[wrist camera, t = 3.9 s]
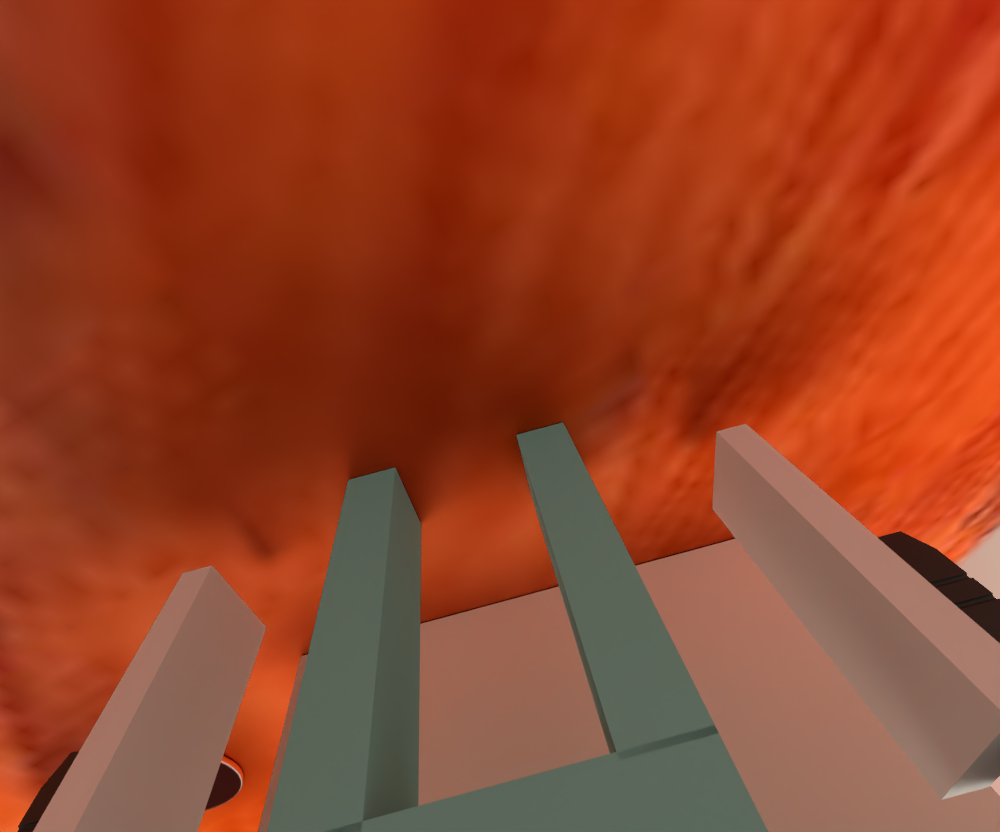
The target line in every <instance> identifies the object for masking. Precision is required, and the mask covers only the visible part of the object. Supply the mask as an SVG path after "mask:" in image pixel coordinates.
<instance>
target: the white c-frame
mask: <svg viewBox="0 0 1000 832" xmlns="http://www.w3.org/2000/svg"><path fill="white" fill-rule="evenodd" d="M635 567H636V569H637V571H638V573H639V575H640V577H641V579H642V581H643V583H644V585H645V587H646V589H647V591H648V593H649V595H650V597H651V599H652V601H653V603H654V605H655V607H656V609H657V611H658V613H659V615H660V617H661V619H662V621H663V623H664V625H665V627H666V629H667V631H668V632H669V634H670V636H671V638H672V640H673V642H674V644H675V646H676V648H677V650H678V652H679V654H680V656H681V658H682V660H683V662H684V664H685V666H686V668H687V670H688V672H689V674H690V676H691V678H692V680H693V682H694V684H695V686H696V688H697V690H698V692H699V694H700V696H701V698H702V700H703V702H704V704H705V706H706V708H707V710H708V712H709V714H710V716H711V718H712V720H713V722H714V724H715V726H716V728H717V730H718V732H719V734H720V736H721V738H722V740H723V742H724V744H725V746H726V748H727V750H728V752H729V754H730V756H731V758H732V760H733V762H734V764H735V766H736V768H737V770H738V772H739V774H740V776H741V778H742V780H743V782H744V784H745V786H746V788H747V790H748V792H749V794H750V796H751V798H752V800H753V802H754V804H755V806H756V808H757V810H758V812H759V814H760V816H761V818H762V820H763V822H764V824H765V826H766V828H767V830H768V832H1000V796H999V795H998V794H997V793H996V792H995V791H994V789H993V788H992V787H991V786H989V787H987V788H983V789H980V790H976V791H972V792H968V793H965V794H961V795H957V796H953V797H950V798H946V799H942V800H941V799H940V797H939V796H938V795H937V793H936V792H935V791H934V790H933V788H932V787H931V786H930V785H929V783H928V782H927V781H926V780H925V778H924V777H923V776H922V774H921V773H920V772H919V771H918V769H917V768H916V767H915V766H914V764H913V763H912V762H911V760H910V759H909V758H908V757H907V755H906V754H905V753H904V752H903V750H902V749H901V748H900V747H899V745H898V744H897V743H896V741H895V740H894V739H893V738H892V736H891V735H890V734H889V733H888V731H887V730H886V729H885V727H884V726H883V725H882V724H881V722H880V721H879V720H878V719H877V717H876V716H875V715H874V714H873V712H872V711H871V710H870V708H869V707H868V706H867V705H866V703H865V702H864V701H863V700H862V698H861V697H860V696H859V694H858V693H857V692H856V691H855V689H854V688H853V687H852V686H851V684H850V683H849V682H848V681H847V679H846V678H845V677H844V675H843V674H842V673H841V672H840V670H839V669H838V668H837V667H836V665H835V664H834V663H833V661H832V660H831V659H830V658H829V656H828V655H827V654H826V653H825V651H824V650H823V649H822V648H821V646H820V645H819V644H818V642H817V641H816V640H815V639H814V637H813V636H812V635H811V634H810V632H809V631H808V630H807V628H806V627H805V626H804V625H803V623H802V622H801V621H800V620H799V618H798V617H797V616H796V615H795V613H794V612H793V611H792V609H791V608H790V607H789V606H788V604H787V603H786V602H785V601H784V599H783V598H782V597H781V595H780V594H779V593H778V592H777V590H776V589H775V588H774V587H773V585H772V584H771V583H770V582H769V580H768V579H767V578H766V576H765V575H764V574H763V573H762V571H761V570H760V569H759V568H758V566H757V565H756V564H755V562H754V561H753V560H752V559H751V557H750V556H749V555H748V554H747V552H746V551H745V550H744V549H743V547H742V546H741V545H740V543H739V542H738V541H737V540H736V539H732V540H728V541H725V542H721V543H717V544H714V545H710V546H706V547H703V548H699V549H695V550H691V551H688V552H684V553H680V554H677V555H673V556H669V557H666V558H662V559H658V560H655V561H651V562H647V563H643V564H640V565H636V566H635ZM307 656H308V654H307V655H303V656H301V657H300V661H299V666H298V670H297V674H296V678H295V682H294V686H293V690H292V694H291V698H290V702H289V706H288V711H287V715H286V719H285V723H284V727H283V731H282V735H281V739H280V743H279V747H278V751H277V756H276V760H275V764H274V768H273V772H272V776H271V780H270V784H269V788H268V792H267V796H266V801H265V805H264V809H263V813H262V817H261V821H260V825H259V829H258V832H267V829H268V825H269V821H270V816H271V812H272V808H273V803H274V799H275V795H276V790H277V786H278V782H279V777H280V773H281V769H282V764H283V760H284V756H285V751H286V747H287V743H288V738H289V734H290V730H291V725H292V721H293V717H294V712H295V708H296V704H297V700H298V695H299V691H300V687H301V682H302V678H303V674H304V669H305V665H306V661H307ZM607 754H610V753H609V749H608V746H607V743H606V739H605V736H604V733H603V730H602V726H601V723H600V720H599V716H598V713H597V710H596V707H595V703H594V700H593V697H592V693H591V690H590V687H589V684H588V680H587V677H586V674H585V670H584V667H583V664H582V661H581V657H580V654H579V651H578V647H577V644H576V641H575V638H574V634H573V631H572V628H571V624H570V621H569V618H568V615H567V611H566V608H565V605H564V601H563V598H562V595H561V592H560V588H559V586H558V587H555V588H551V589H547V590H544V591H540V592H536V593H533V594H529V595H525V596H521V597H518V598H514V599H510V600H507V601H503V602H499V603H496V604H492V605H488V606H485V607H481V608H477V609H473V610H470V611H466V612H462V613H459V614H455V615H451V616H448V617H444V618H440V619H436V620H433V621H429V622H425V623H422V624H420V701H419V797H418V806H420V805H424V804H427V803H431V802H435V801H438V800H442V799H446V798H449V797H453V796H457V795H460V794H464V793H468V792H471V791H475V790H479V789H482V788H486V787H490V786H493V785H497V784H501V783H504V782H508V781H512V780H515V779H519V778H523V777H526V776H530V775H533V774H537V773H541V772H544V771H548V770H552V769H555V768H559V767H563V766H566V765H570V764H574V763H577V762H581V761H585V760H588V759H592V758H596V757H599V756H603V755H607Z"/></svg>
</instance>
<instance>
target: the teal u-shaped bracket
mask: <svg viewBox="0 0 1000 832" xmlns="http://www.w3.org/2000/svg"><path fill="white" fill-rule="evenodd" d="M516 436H517V440H518V444H519V448H520V452H521V456H522V460H523V464H524V468H525V472H526V476H527V480H528V484H529V488H530V492H531V496H532V500H533V503H534V506H535V509H536V513H537V516H538V519H539V523H540V526H541V529H542V532H543V536H544V539H545V542H546V546H547V549H548V552H549V555H550V559H551V562H552V565H553V569H554V572H555V575H556V578H557V582H558V585H559V588H560V592H561V595H562V598H563V601H564V605H565V608H566V611H567V615H568V618H569V621H570V624H571V628H572V631H573V634H574V638H575V641H576V644H577V647H578V651H579V654H580V657H581V661H582V664H583V667H584V670H585V674H586V677H587V680H588V684H589V687H590V690H591V693H592V697H593V700H594V703H595V707H596V710H597V713H598V716H599V720H600V723H601V726H602V730H603V733H604V736H605V739H606V743H607V746H608V749H609V753H610V754H607V755H603V756H599V757H596V758H592V759H588V760H585V761H581V762H577V763H574V764H570V765H566V766H563V767H559V768H555V769H552V770H548V771H544V772H541V773H537V774H533V775H530V776H526V777H523V778H519V779H515V780H512V781H508V782H504V783H501V784H497V785H493V786H490V787H486V788H482V789H479V790H475V791H471V792H468V793H464V794H460V795H457V796H453V797H449V798H446V799H442V800H438V801H435V802H431V803H427V804H424V805H420V806H418V797H419V701H420V604H421V523H420V521H419V518H418V516H417V514H416V512H415V509H414V507H413V505H412V503H411V501H410V498H409V496H408V494H407V492H406V490H405V487H404V485H403V483H402V481H401V479H400V476H399V474H398V472H397V470H396V468H395V467H394V468H391V469H387V470H383V471H380V472H376V473H372V474H368V475H365V476H361V477H357V478H353V479H350V480H348V483H347V488H346V492H345V496H344V501H343V505H342V509H341V514H340V518H339V522H338V526H337V531H336V535H335V539H334V544H333V548H332V552H331V557H330V561H329V565H328V570H327V574H326V578H325V583H324V587H323V591H322V596H321V600H320V604H319V609H318V613H317V617H316V622H315V626H314V630H313V635H312V639H311V643H310V648H309V652H308V656H307V661H306V665H305V669H304V674H303V678H302V682H301V687H300V691H299V695H298V700H297V704H296V708H295V712H294V717H293V721H292V725H291V730H290V734H289V738H288V743H287V747H286V751H285V756H284V760H283V764H282V769H281V773H280V777H279V782H278V786H277V790H276V795H275V799H274V803H273V808H272V812H271V816H270V821H269V825H268V829H267V832H768V830H767V828H766V826H765V824H764V822H763V820H762V818H761V816H760V814H759V812H758V810H757V808H756V806H755V804H754V802H753V800H752V798H751V796H750V794H749V792H748V790H747V788H746V786H745V784H744V782H743V780H742V778H741V776H740V774H739V772H738V770H737V768H736V766H735V764H734V762H733V760H732V758H731V756H730V754H729V752H728V750H727V748H726V746H725V744H724V742H723V740H722V738H721V736H720V734H719V732H718V730H717V728H716V726H715V724H714V722H713V720H712V718H711V716H710V714H709V712H708V710H707V708H706V706H705V704H704V702H703V700H702V698H701V696H700V694H699V692H698V690H697V688H696V686H695V684H694V682H693V680H692V678H691V676H690V674H689V672H688V670H687V668H686V666H685V664H684V662H683V660H682V658H681V656H680V654H679V652H678V650H677V648H676V646H675V644H674V642H673V640H672V638H671V636H670V634H669V632H668V631H667V629H666V627H665V625H664V623H663V621H662V619H661V617H660V615H659V613H658V611H657V609H656V607H655V605H654V603H653V601H652V599H651V597H650V595H649V593H648V591H647V589H646V587H645V585H644V583H643V581H642V579H641V577H640V575H639V573H638V571H637V569H636V567H635V565H634V563H633V561H632V559H631V557H630V555H629V553H628V551H627V549H626V547H625V545H624V543H623V541H622V539H621V537H620V535H619V533H618V531H617V529H616V527H615V525H614V523H613V521H612V519H611V517H610V515H609V513H608V511H607V509H606V507H605V505H604V503H603V501H602V499H601V497H600V495H599V493H598V491H597V489H596V487H595V485H594V483H593V481H592V479H591V477H590V475H589V473H588V471H587V469H586V467H585V465H584V463H583V461H582V459H581V457H580V455H579V453H578V451H577V449H576V447H575V445H574V443H573V441H572V439H571V437H570V435H569V433H568V431H567V429H566V427H565V425H564V423H563V422H562V423H558V424H555V425H551V426H547V427H543V428H540V429H536V430H532V431H529V432H525V433H521V434H517V435H516Z"/></svg>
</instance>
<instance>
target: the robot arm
mask: <svg viewBox="0 0 1000 832" xmlns="http://www.w3.org/2000/svg"><path fill="white" fill-rule="evenodd" d="M712 509H713V510H714V512H715V513H716V514H717V516H718V517H719V518H720V519H721V521H722V522H723V523H724V524H725V526H726V527H727V528H728V529H729V531H730V532H731V533H732V535H733V536H734V537H735V538H736V540H737V541H738V542H739V543H740V545H741V546H742V547H743V549H744V550H745V551H746V552H747V554H748V555H749V556H750V557H751V559H752V560H753V561H754V562H755V564H756V565H757V566H758V568H759V569H760V570H761V571H762V573H763V574H764V575H765V576H766V578H767V579H768V580H769V582H770V583H771V584H772V585H773V587H774V588H775V589H776V590H777V592H778V593H779V594H780V595H781V597H782V598H783V599H784V601H785V602H786V603H787V604H788V606H789V607H790V608H791V609H792V611H793V612H794V613H795V615H796V616H797V617H798V618H799V620H800V621H801V622H802V623H803V625H804V626H805V627H806V628H807V630H808V631H809V632H810V634H811V635H812V636H813V637H814V639H815V640H816V641H817V642H818V644H819V645H820V646H821V648H822V649H823V650H824V651H825V653H826V654H827V655H828V656H829V658H830V659H831V660H832V661H833V663H834V664H835V665H836V667H837V668H838V669H839V670H840V672H841V673H842V674H843V675H844V677H845V678H846V679H847V681H848V682H849V683H850V684H851V686H852V687H853V688H854V689H855V691H856V692H857V693H858V694H859V696H860V697H861V698H862V700H863V701H864V702H865V703H866V705H867V706H868V707H869V708H870V710H871V711H872V712H873V714H874V715H875V716H876V717H877V719H878V720H879V721H880V722H881V724H882V725H883V726H884V727H885V729H886V730H887V731H888V733H889V734H890V735H891V736H892V738H893V739H894V740H895V741H896V743H897V744H898V745H899V747H900V748H901V749H902V750H903V752H904V753H905V754H906V755H907V757H908V758H909V759H910V760H911V762H912V763H913V764H914V766H915V767H916V768H917V769H918V771H919V772H920V773H921V774H922V776H923V777H924V778H925V780H926V781H927V782H928V783H929V785H930V786H931V787H932V788H933V790H934V791H935V792H936V793H937V795H938V796H939V797H940V799H941V800H942V799H946V798H950V797H953V796H957V795H961V794H965V793H968V792H972V791H976V790H980V789H983V788H987V787H989V786H990V785H991V784H992V783H993V782H994V781H995V780H996V779H997V778H998V777H999V776H1000V599H996V598H994V597H993V595H992V593H991V592H990V591H989V590H988V589H986V588H985V587H984V586H983V585H981V584H980V583H979V582H978V581H976V580H975V579H974V578H969V577H968V576H967V573H966V572H965V571H964V570H962V569H961V568H960V567H958V566H957V565H956V564H955V563H953V562H952V561H951V560H950V559H948V558H947V557H946V556H945V555H943V554H942V553H941V552H939V551H938V550H937V549H935V548H933V547H931V546H929V545H927V544H925V543H923V542H921V541H919V540H917V539H915V538H913V537H911V536H909V535H907V534H905V533H903V532H901V531H900V532H896V533H892V534H889V535H885V536H881V537H876V536H875V535H874V534H873V533H872V532H870V531H869V530H868V529H867V528H866V527H865V526H864V525H862V524H861V523H860V522H859V521H858V520H857V519H855V518H854V517H853V516H852V515H851V514H850V513H849V512H847V511H846V510H845V509H844V508H843V507H842V506H840V505H839V504H838V503H837V502H836V501H835V500H833V499H832V498H831V497H830V496H829V495H828V494H827V493H825V492H824V491H823V490H822V489H821V488H820V487H818V486H817V485H816V484H815V483H814V482H813V481H812V480H810V479H809V478H808V477H807V476H806V475H805V474H803V473H802V472H801V471H800V470H799V469H798V468H797V467H795V466H794V465H793V464H792V463H791V462H790V461H788V460H787V459H786V458H785V457H784V456H783V455H782V454H780V453H779V452H778V451H777V450H776V449H775V448H773V447H772V446H771V445H770V444H769V443H768V442H767V441H765V440H764V439H763V438H762V437H761V436H760V435H758V434H757V433H756V432H755V431H754V430H753V429H752V428H750V427H749V426H748V425H747V424H743V425H739V426H735V427H731V428H727V429H724V430H720V431H716V450H715V469H714V488H713V506H712ZM266 628H267V627H266V626H265V625H264V624H263V623H262V621H261V620H260V619H259V618H258V617H257V616H256V615H255V613H254V612H253V611H252V610H251V609H250V608H249V607H248V605H247V604H246V603H245V602H244V601H243V600H242V599H241V597H240V596H239V595H238V594H237V593H236V592H235V591H234V589H233V588H232V587H231V586H230V585H229V584H228V583H227V581H226V580H225V579H224V578H223V577H222V576H221V575H220V573H219V572H218V571H217V570H216V569H215V568H214V567H213V565H211V566H207V567H203V568H200V569H196V570H192V571H188V572H185V573H182V575H181V577H180V579H179V580H178V582H177V584H176V586H175V587H174V589H173V591H172V592H171V594H170V596H169V598H168V599H167V601H166V603H165V604H164V606H163V608H162V610H161V611H160V613H159V615H158V617H157V618H156V620H155V622H154V623H153V625H152V627H151V629H150V630H149V632H148V634H147V636H146V637H145V639H144V641H143V642H142V644H141V646H140V648H139V649H138V651H137V653H136V655H135V656H134V658H133V660H132V661H131V663H130V665H129V667H128V668H127V670H126V672H125V673H124V675H123V677H122V679H121V680H120V682H119V684H118V686H117V687H116V689H115V691H114V692H113V694H112V696H111V698H110V699H109V701H108V703H107V705H106V706H105V708H104V710H103V711H102V713H101V715H100V717H99V718H98V720H97V722H96V724H95V725H94V727H93V729H92V730H91V732H90V734H89V736H88V737H87V739H86V741H85V742H84V744H83V746H82V748H81V749H80V751H77V752H73V753H71V754H70V755H69V756H68V757H67V758H66V760H65V761H64V762H63V763H62V764H61V765H60V767H59V768H58V769H57V770H56V771H55V773H54V774H53V775H52V776H51V777H50V778H49V780H48V781H47V782H46V783H45V784H44V785H43V787H42V788H41V789H40V791H39V793H38V794H37V796H36V798H35V799H34V801H33V803H32V804H31V806H30V808H29V809H28V811H27V812H26V814H25V816H24V817H23V819H22V821H21V822H20V824H19V826H18V827H19V830H18V832H198V829H199V826H200V823H201V820H202V817H203V814H204V811H205V808H206V805H207V802H208V799H209V796H210V793H211V790H212V787H213V784H214V781H215V778H216V775H217V772H218V770H219V767H220V764H221V761H222V758H223V755H224V752H225V749H226V746H227V743H228V740H229V737H230V734H231V731H232V728H233V725H234V722H235V719H236V716H237V713H238V710H239V707H240V705H241V702H242V699H243V696H244V693H245V690H246V687H247V684H248V681H249V678H250V675H251V672H252V669H253V666H254V663H255V660H256V657H257V654H258V651H259V648H260V645H261V643H262V640H263V637H264V634H265V631H266Z"/></svg>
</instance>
